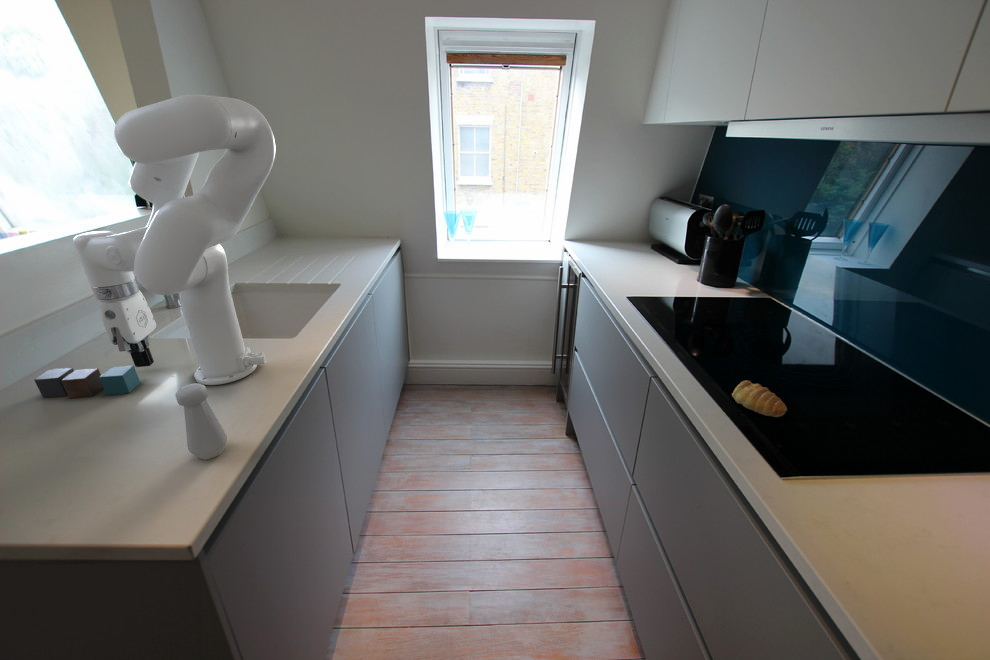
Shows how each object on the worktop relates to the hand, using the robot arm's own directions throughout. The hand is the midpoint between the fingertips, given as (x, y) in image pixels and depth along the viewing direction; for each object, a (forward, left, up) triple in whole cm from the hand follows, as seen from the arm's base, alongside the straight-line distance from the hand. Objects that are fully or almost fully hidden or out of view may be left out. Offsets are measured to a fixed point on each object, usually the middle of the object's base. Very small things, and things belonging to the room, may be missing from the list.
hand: (145, 364), depth 103 cm
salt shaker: (-27, +34, -2) cm, 43 cm away
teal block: (+1, +8, -1) cm, 8 cm away
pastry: (-130, +37, -2) cm, 135 cm away
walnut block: (+7, +8, -1) cm, 11 cm away
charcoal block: (+13, +7, -1) cm, 15 cm away
